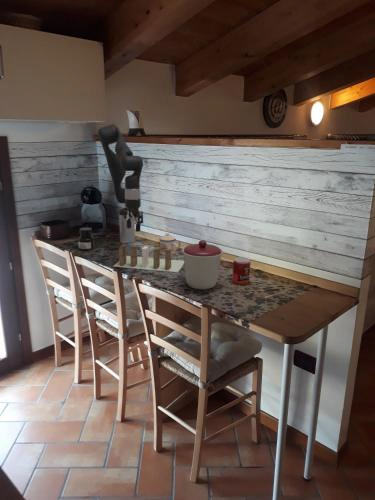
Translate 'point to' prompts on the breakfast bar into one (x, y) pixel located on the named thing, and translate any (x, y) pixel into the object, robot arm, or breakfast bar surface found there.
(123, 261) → the domino
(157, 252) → the domino
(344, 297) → the breakfast bar surface
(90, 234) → the ink bottle
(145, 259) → the domino
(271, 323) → the breakfast bar surface
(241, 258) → the canned food
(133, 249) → the domino
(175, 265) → the mat
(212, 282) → the canister
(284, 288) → the breakfast bar surface
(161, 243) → the teacup with lid
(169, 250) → the domino
